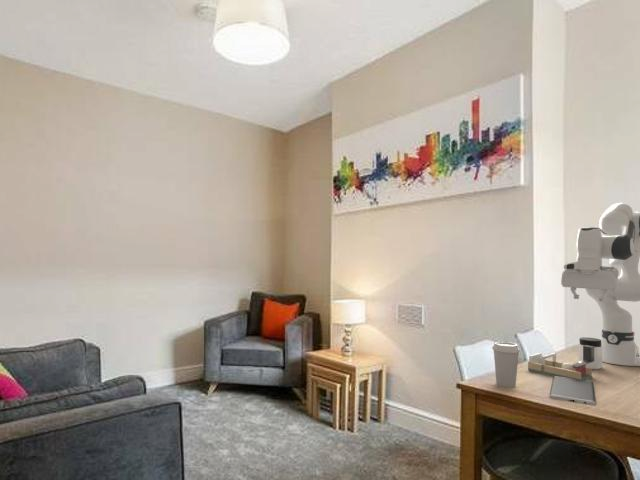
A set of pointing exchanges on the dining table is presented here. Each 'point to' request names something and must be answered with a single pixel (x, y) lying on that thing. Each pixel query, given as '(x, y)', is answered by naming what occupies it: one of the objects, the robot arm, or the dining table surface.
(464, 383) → the dining table surface
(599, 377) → the dining table surface
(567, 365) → the ball
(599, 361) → the jar
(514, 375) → the coffee cup
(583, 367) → the kicker rod
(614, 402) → the dining table surface
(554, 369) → the pitch
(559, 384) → the smartphone
